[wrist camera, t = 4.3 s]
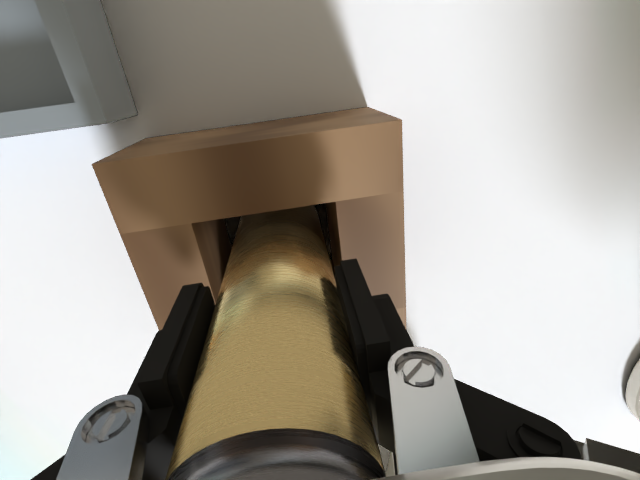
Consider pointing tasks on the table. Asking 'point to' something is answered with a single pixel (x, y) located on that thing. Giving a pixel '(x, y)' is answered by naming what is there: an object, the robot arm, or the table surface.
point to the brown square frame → (259, 197)
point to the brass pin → (277, 367)
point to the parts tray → (58, 67)
